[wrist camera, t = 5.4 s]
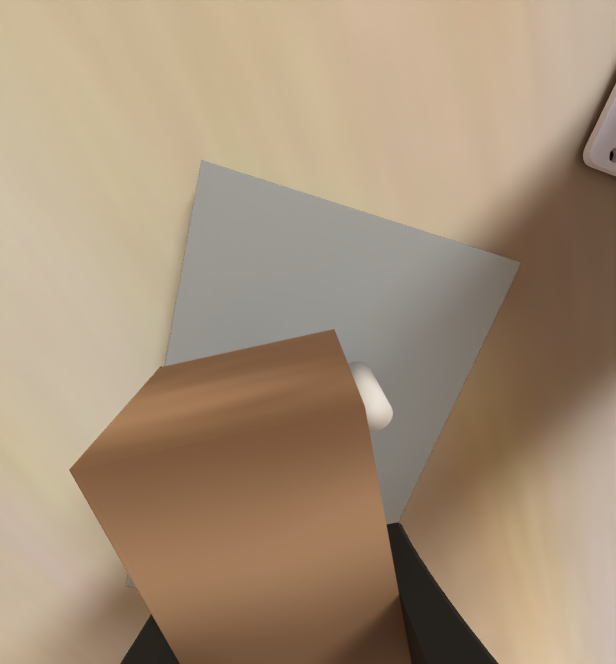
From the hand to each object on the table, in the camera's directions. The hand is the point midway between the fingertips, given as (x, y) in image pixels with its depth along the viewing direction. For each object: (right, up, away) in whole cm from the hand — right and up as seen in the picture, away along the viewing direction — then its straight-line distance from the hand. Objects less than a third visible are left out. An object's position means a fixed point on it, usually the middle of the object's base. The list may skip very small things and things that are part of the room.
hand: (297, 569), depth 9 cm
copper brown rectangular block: (0, +1, +2) cm, 2 cm away
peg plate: (0, +2, +6) cm, 7 cm away
